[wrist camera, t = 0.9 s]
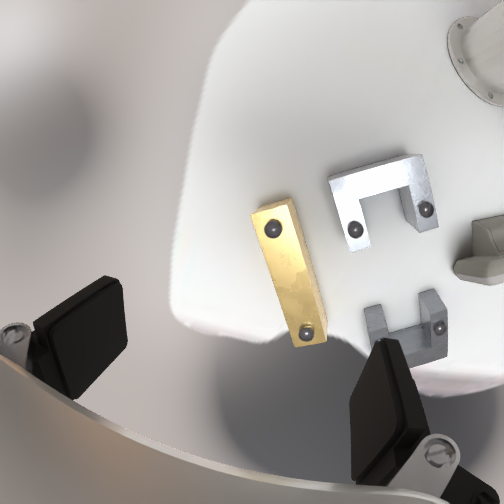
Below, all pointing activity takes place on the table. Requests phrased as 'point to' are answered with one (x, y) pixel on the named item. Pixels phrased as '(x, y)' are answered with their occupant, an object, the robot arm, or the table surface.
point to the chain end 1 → (377, 181)
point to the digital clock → (484, 253)
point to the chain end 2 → (415, 330)
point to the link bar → (291, 271)
